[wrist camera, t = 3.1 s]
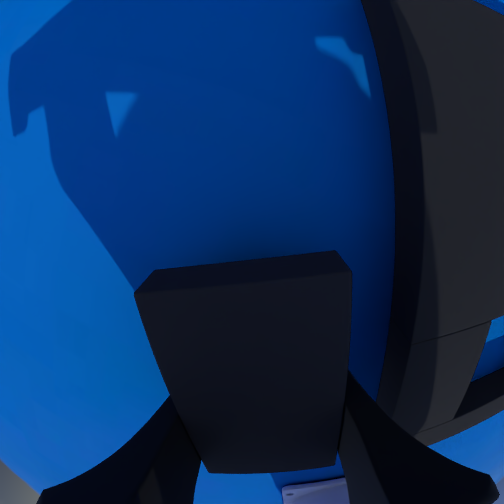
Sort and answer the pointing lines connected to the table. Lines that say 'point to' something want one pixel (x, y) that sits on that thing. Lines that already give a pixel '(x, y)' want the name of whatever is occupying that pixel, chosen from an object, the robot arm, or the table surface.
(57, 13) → the table surface
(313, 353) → the pad
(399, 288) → the base pad
